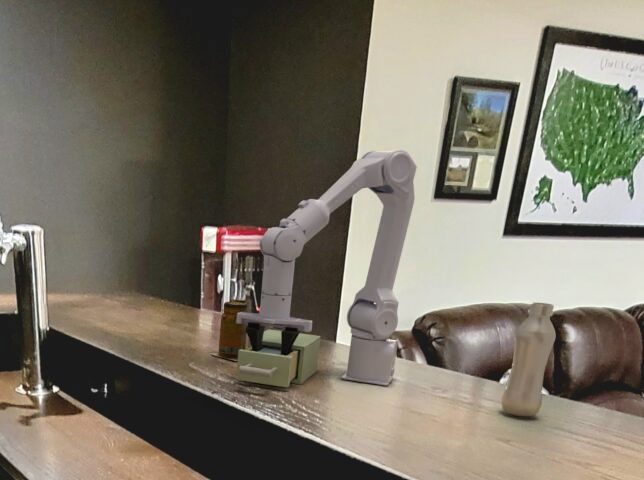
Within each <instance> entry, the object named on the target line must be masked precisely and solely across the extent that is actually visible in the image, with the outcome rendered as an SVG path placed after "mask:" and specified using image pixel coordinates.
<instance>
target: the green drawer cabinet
mask: <svg viewBox="0 0 644 480" xmlns="http://www.w3.org/2000/svg"><path fill="white" fill-rule="evenodd" d="M282 331H283V330H275V329H266V330H264V334H263V340H262V345H267V346H275V347H281V332H282ZM321 339H322V336H321V335H314V334H308V333H301V332H300V333H299V335H298V337H297V338H296V340H295V342H294V344H293V346H292V348H291V349H297V350H300V359H299V368H298V375H297V376H296V377H295V378H293V379H292V380H291V381H290V384H296V385H302V384H303V383H304V382H305V381H307V380H308V379H309V378H311V376H312V375H314V374H315V373H316V372H318V363H319V356H320V355H319V353H320V347H321ZM250 347H252V346H251V343H250V340H249V339H248V341H247V349H248V348H250Z"/></svg>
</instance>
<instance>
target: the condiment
mask: <svg viewBox="0 0 644 480" xmlns="http://www.w3.org/2000/svg"><path fill="white" fill-rule="evenodd" d="M222 312H223V313H221V316H220V328H219V340H218V352H211V353H209V354H210V355H213V356H215V357H219V358H224V359H227V360H230V361H234V362H238V351H239V350H240V349H242V350H246V347H247V336H248V335H247V333H246V327H247V326H248V324H244V323H242V324H239V323H236V322H237V313H240V312H243V313H248V304H247V303H245V302H240V301H225V302H224V303H223V309H222Z"/></svg>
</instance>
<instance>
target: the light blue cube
mask: <svg viewBox="0 0 644 480" xmlns="http://www.w3.org/2000/svg"><path fill="white" fill-rule="evenodd" d="M258 352H263V353H270V354H277V355H281V350H276V349H269V348H263V349H261V350H260V351H258Z"/></svg>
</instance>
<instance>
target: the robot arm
mask: <svg viewBox="0 0 644 480" xmlns="http://www.w3.org/2000/svg"><path fill="white" fill-rule="evenodd" d="M417 167H418V166H417V165H416V163H415V161H414V160H413V158H412V156H411V155H410V153H409V152H408V151H406V150H403V149H396V150H386V151H385V150H384V151H377V150H370V151H367V152H365V153H364V154H363V155H362V156H361V157H360V158H358V159H356V160H355V161H354V162H353V163H352V165H351V167H350V168H349V169H348V170H347V171H345V172H344V174H343V175H341V177H339V179H338V180H337V181H336V182H335V183H333V184H332V185H331V186H330V188H328V189H327V190H326V191H325V192H324V193H323V194H322V195H321V196H320V197H319V198H318V199H314V198H309V199H307V200H302V201H300V202H299V203H298V205H297V206H298V208H297V209H296V210H294V211H293V212H292V213H291V214H290V215H289V216H287V218H282V219H281V220H280V221H279V226H275V227H271V228H269V229H267V230H266V231H265V233H264V234H263V237H262V239H261V241H259V245H258V246H259V250H260V252H261V254H262V256H263V268H262V281H261V282H262V283H261V294H260V307H259V313H257V312H256V313H255V312H247V313H243V312H240V313H237V322H236V323H239V324H242V323H244V324H247V327H246V333H247V335H246V336H247V337H248V341H249V340H250V343H251V346H252V350H253V351H256V352H258V351H260V350H261V349H262V340H263V334H264V331H265V329H266V327H270V328H278V329H283V330H281V331H282V332H281V355H285V356H287V355H288V354H289V352H290V350H291V348H292V346H293V344H294V342H295V340H296V338H297V337H298V335H299V333H300V334H301V331H302V332H304V333H310V332H312V330H313V320H310V319H304V318H297V317H293V316H291V315H290V314H291V305H292V297H293V296H292V295H293V284H294V275H295V264H296V259H297V258H299V257H300V256H301V254H302V252H303V250H304V246H305V244H306V243H308V242H309V241H310V240H311V239H312V238H313V237H314V236H316V235H317V234H318V233H319V232H320V231H321V230H322V229H324V228H325V227H326V226H327V225H328V224H329V222H330V215H331V213H333V212H335V210H337V209H338V208H339V207H340V206H342V205H343V204H344V203H346V202H347V201H348V200H350V199H351V198H352V197H354V196H355V195H356V194H357V193H358V192H360V191H361V190H362V189H368V190H370V191H371V192H373V194H375V195H376V197H377V198H378V199H379V202H381V204H382V211H381V215H380V218H379V219H380V220H379V224H378V227H377V232H376V237H375V241H374V245H373V250H372V254H371V258H370V263H369V267H368V270H367V275H366V278H365V279H366V280H365V284H364V286H363V287H362V288H361V289H359V290H358V291H357V292H356V293H355V296H354V299H353V302H352V304H351V305H350V307H349V308H348V311H347V313H346V322H347V325H348V327H349V328H350V334H351V338H350V345H349V352H348V359H347V368H346V372H345V373H344V374H343V375H342V376H341V377H340V378H341V380H345V381H353V382H359V383H366V384H373V385H379V386H389V385H390V383H391V382H392V380H393V379H394V375H395V365H396V359H397V358H396V357H397V353H398V352H397V351H398V340H396V339H391V338H390V337H391V336H392V335H393V334H394V333H395V331H396V330H397V328H398V324H399V315H398V308H399V301H398V299H397V297H396V295H395V294H394V292H393V289H394V285H395V281H396V277H397V274H398V273H397V272H398V269H399V265H400V261H401V257H402V253H403V248H404V244H405V240H406V236H407V232H408V228H409V224H410V220H411V217H412V212H413V208H414V204H415V197H416V196H415V186H414V185H415V184H414V181H415V180H414V179H415V176H416V172H417Z"/></svg>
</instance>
